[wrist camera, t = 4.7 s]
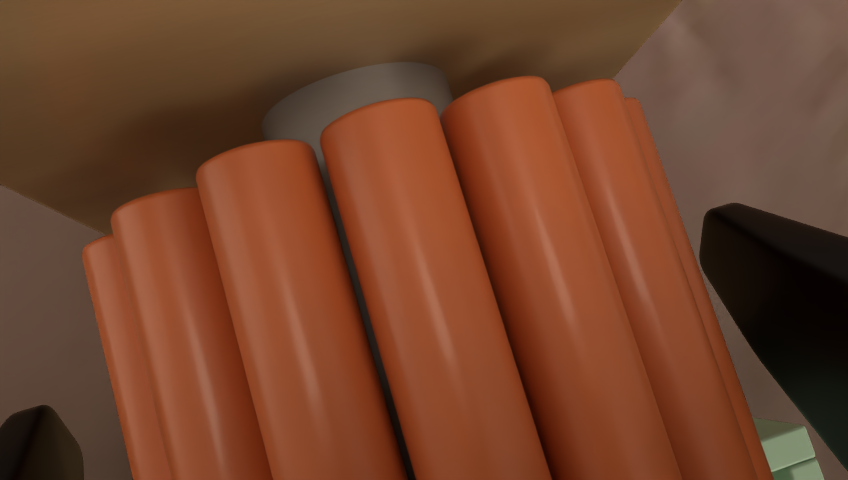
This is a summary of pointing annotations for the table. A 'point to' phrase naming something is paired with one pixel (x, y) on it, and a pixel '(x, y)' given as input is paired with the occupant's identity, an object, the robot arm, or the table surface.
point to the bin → (788, 450)
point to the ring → (424, 304)
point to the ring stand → (260, 83)
